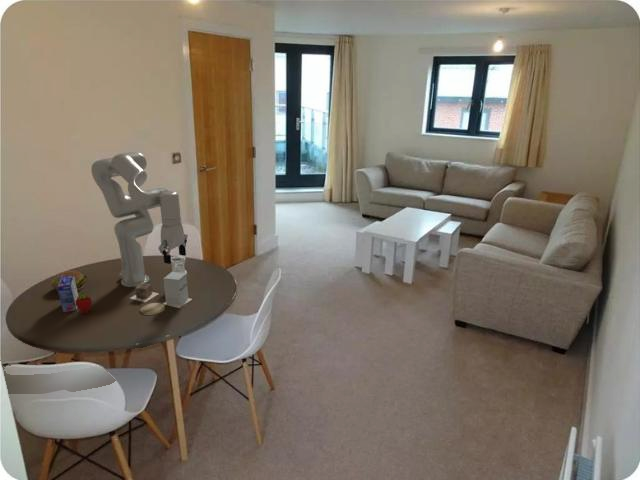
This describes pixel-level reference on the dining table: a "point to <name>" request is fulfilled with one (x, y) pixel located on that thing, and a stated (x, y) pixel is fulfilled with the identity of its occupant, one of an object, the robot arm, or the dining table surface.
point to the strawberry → (83, 303)
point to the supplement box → (176, 288)
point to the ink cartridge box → (67, 293)
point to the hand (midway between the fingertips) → (175, 259)
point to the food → (77, 276)
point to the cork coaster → (152, 308)
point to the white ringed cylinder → (178, 264)
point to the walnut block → (143, 291)
